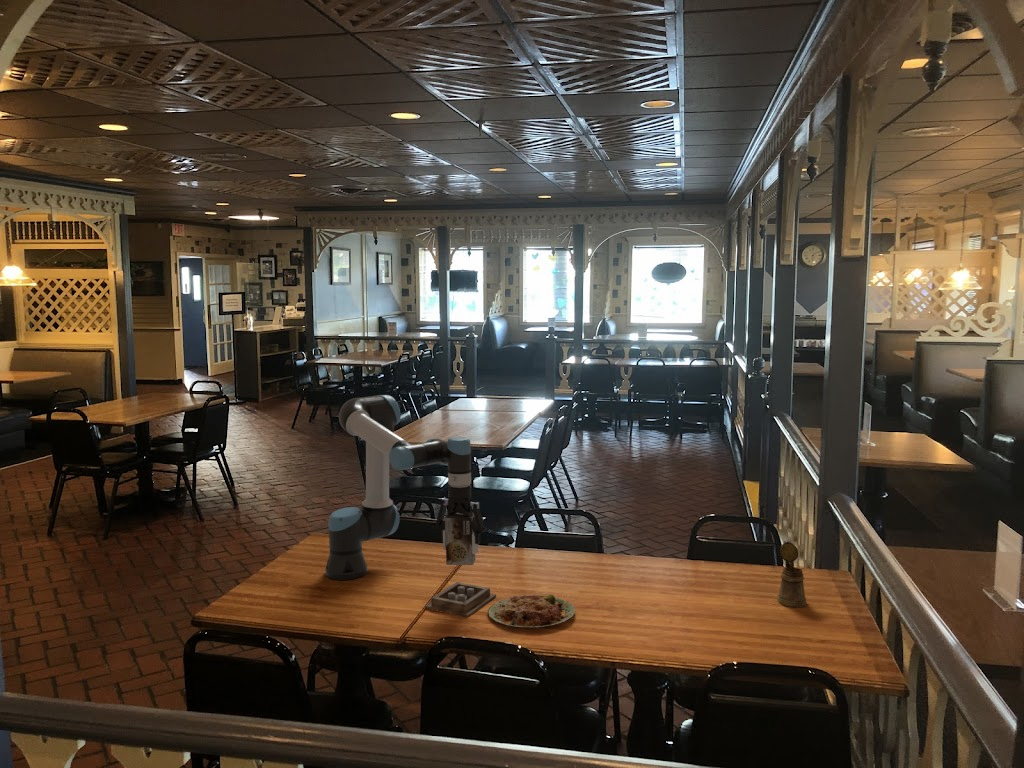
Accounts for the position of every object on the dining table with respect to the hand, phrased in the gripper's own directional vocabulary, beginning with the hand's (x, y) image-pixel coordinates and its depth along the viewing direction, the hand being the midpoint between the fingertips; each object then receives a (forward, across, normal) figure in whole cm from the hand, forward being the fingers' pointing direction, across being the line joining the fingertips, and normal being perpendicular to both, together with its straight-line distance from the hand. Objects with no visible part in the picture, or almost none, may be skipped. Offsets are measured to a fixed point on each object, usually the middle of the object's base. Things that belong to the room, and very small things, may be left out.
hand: (460, 550), depth 260 cm
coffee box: (+4, 0, 0) cm, 4 cm away
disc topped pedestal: (+18, +97, +51) cm, 111 cm away
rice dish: (+19, +25, +2) cm, 31 cm away
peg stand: (+18, 0, 0) cm, 18 cm away
